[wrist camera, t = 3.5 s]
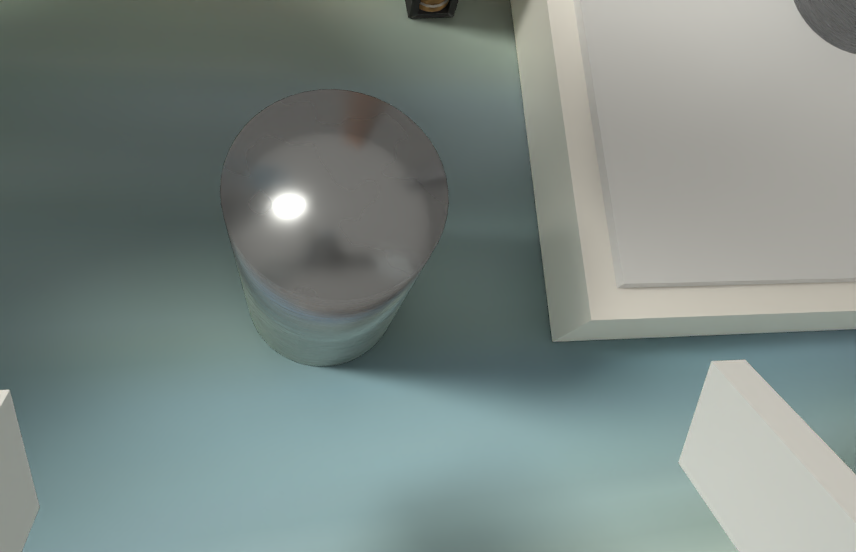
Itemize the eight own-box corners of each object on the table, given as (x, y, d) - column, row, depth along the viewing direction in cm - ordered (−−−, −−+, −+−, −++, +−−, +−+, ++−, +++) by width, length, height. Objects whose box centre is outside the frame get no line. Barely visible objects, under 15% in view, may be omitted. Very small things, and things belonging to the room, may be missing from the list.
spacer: (247, 370, 23) (219, 303, 14) (247, 225, 24) (221, 86, 16) (399, 362, 24) (457, 296, 15) (391, 224, 25) (439, 92, 17)
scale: (552, 341, 25) (597, 316, 21) (505, -38, 29) (536, -115, 26) (945, 325, 28) (1046, 300, 24) (851, -15, 32) (924, -81, 29)
